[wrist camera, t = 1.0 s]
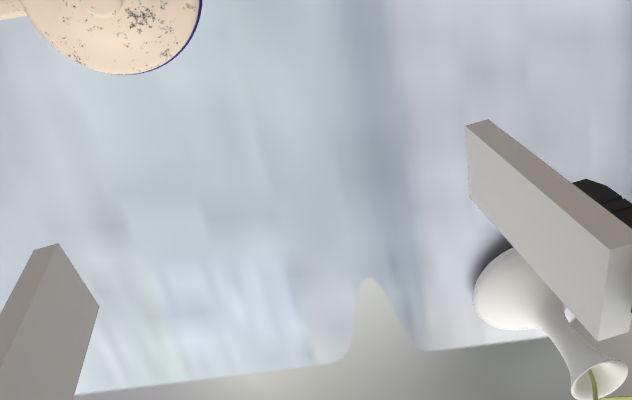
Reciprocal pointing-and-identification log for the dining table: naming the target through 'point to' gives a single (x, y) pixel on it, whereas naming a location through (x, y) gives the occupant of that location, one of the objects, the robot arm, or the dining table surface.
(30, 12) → the teacup with lid
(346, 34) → the dining table surface
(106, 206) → the dining table surface
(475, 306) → the flower in vase
